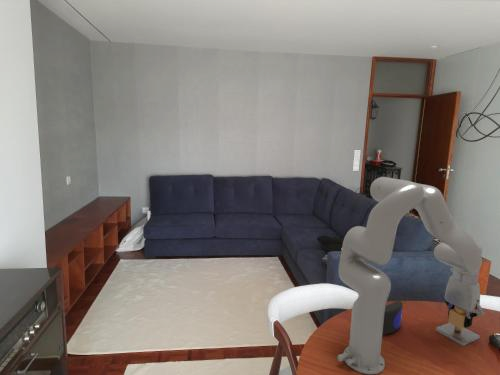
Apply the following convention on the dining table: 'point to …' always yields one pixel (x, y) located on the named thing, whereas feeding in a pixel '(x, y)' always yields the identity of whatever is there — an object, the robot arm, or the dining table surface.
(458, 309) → the cube with dome knob
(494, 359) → the dining table surface
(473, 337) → the plate
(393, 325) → the grey blue curved piece
